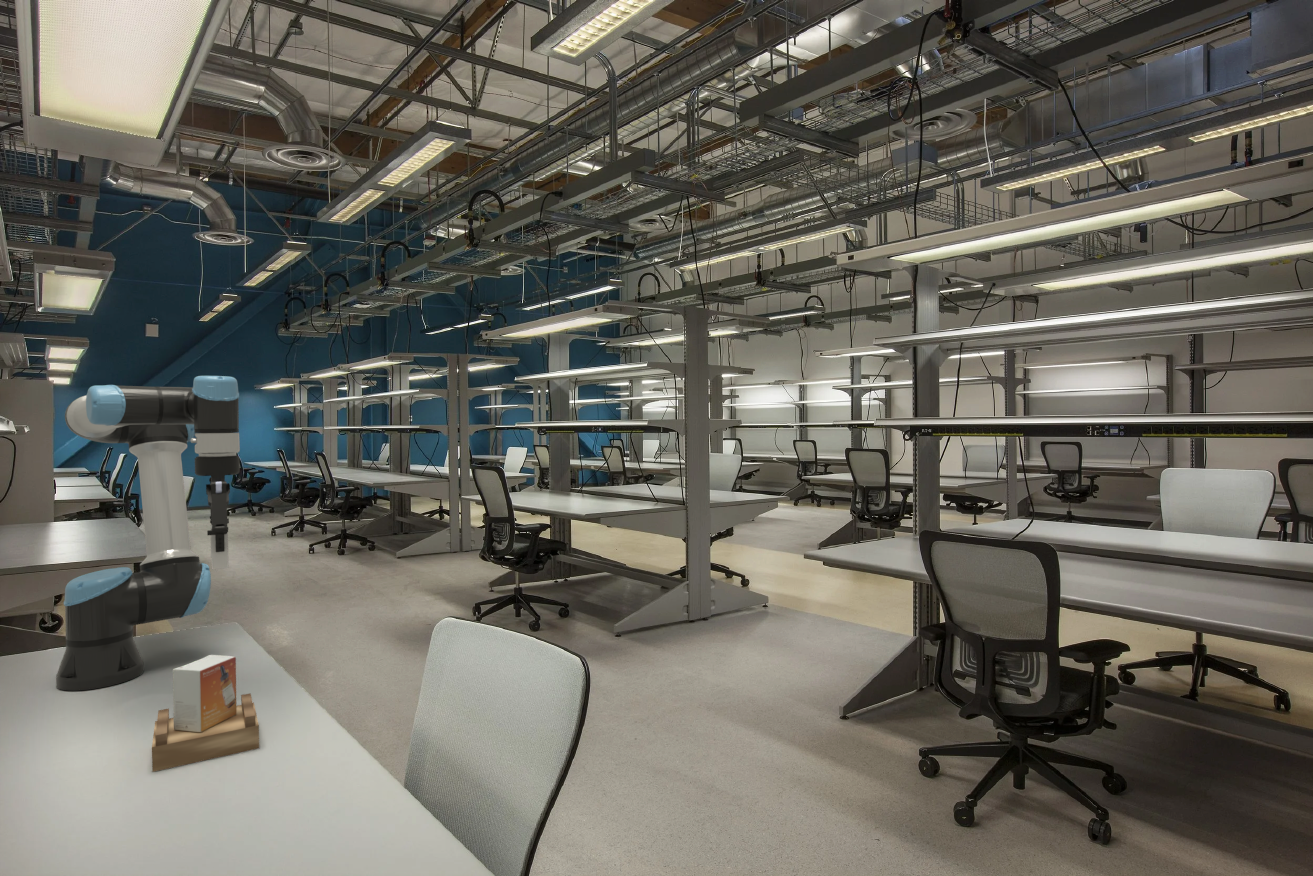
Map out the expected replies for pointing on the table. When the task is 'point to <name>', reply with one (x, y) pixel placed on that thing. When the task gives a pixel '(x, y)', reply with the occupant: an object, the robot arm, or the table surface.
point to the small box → (204, 693)
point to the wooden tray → (204, 738)
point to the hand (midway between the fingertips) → (219, 562)
